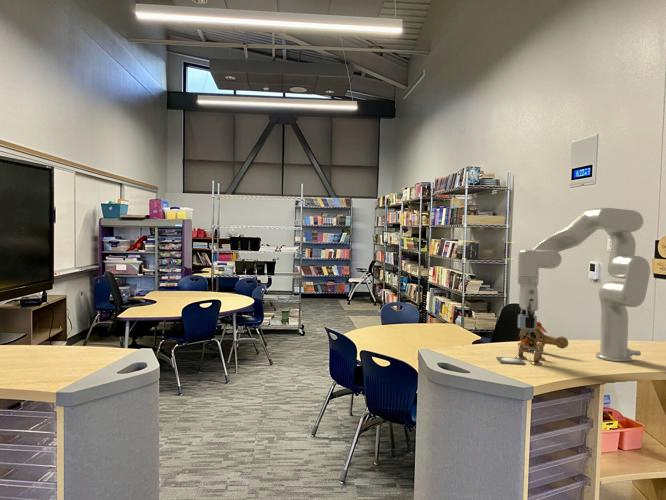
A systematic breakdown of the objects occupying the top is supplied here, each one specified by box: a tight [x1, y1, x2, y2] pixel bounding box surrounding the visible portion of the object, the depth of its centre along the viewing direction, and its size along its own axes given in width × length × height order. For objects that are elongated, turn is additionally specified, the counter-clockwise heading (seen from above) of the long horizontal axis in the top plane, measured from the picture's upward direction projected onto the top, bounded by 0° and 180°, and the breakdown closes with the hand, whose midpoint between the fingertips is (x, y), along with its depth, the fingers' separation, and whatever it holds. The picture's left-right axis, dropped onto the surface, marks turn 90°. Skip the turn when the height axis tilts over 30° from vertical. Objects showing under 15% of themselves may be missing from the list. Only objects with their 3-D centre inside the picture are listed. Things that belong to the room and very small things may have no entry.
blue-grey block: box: [517, 314, 538, 330], centre depth 185 cm, size 6×6×5 cm
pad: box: [495, 356, 527, 366], centre depth 182 cm, size 9×9×1 cm
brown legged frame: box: [514, 340, 545, 366], centre depth 184 cm, size 11×13×7 cm
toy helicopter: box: [517, 321, 569, 352], centre depth 200 cm, size 8×21×14 cm, turn 38°
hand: (527, 325), depth 185 cm, fingers closed on blue-grey block, 6 cm apart
